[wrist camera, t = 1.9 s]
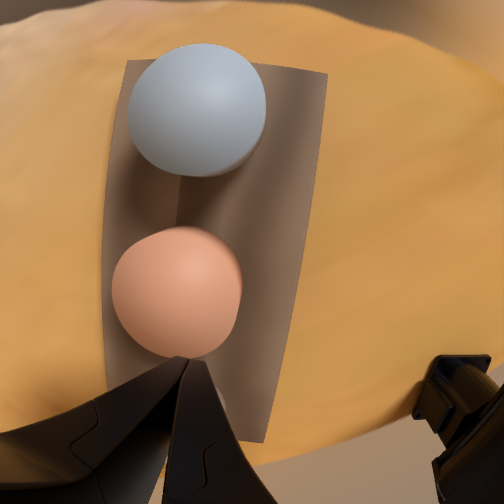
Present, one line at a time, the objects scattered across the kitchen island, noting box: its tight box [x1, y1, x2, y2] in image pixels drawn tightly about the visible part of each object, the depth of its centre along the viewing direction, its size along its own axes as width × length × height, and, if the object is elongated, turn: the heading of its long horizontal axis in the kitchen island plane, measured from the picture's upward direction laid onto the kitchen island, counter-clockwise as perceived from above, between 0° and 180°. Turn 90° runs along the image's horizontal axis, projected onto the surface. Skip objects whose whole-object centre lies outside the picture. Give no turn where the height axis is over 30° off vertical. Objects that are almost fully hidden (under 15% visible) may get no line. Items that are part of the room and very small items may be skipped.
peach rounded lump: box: [112, 225, 243, 359], centre depth 17 cm, size 6×6×6 cm
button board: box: [102, 59, 328, 443], centre depth 19 cm, size 12×25×2 cm, turn 172°
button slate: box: [128, 44, 266, 177], centre depth 15 cm, size 6×6×6 cm
